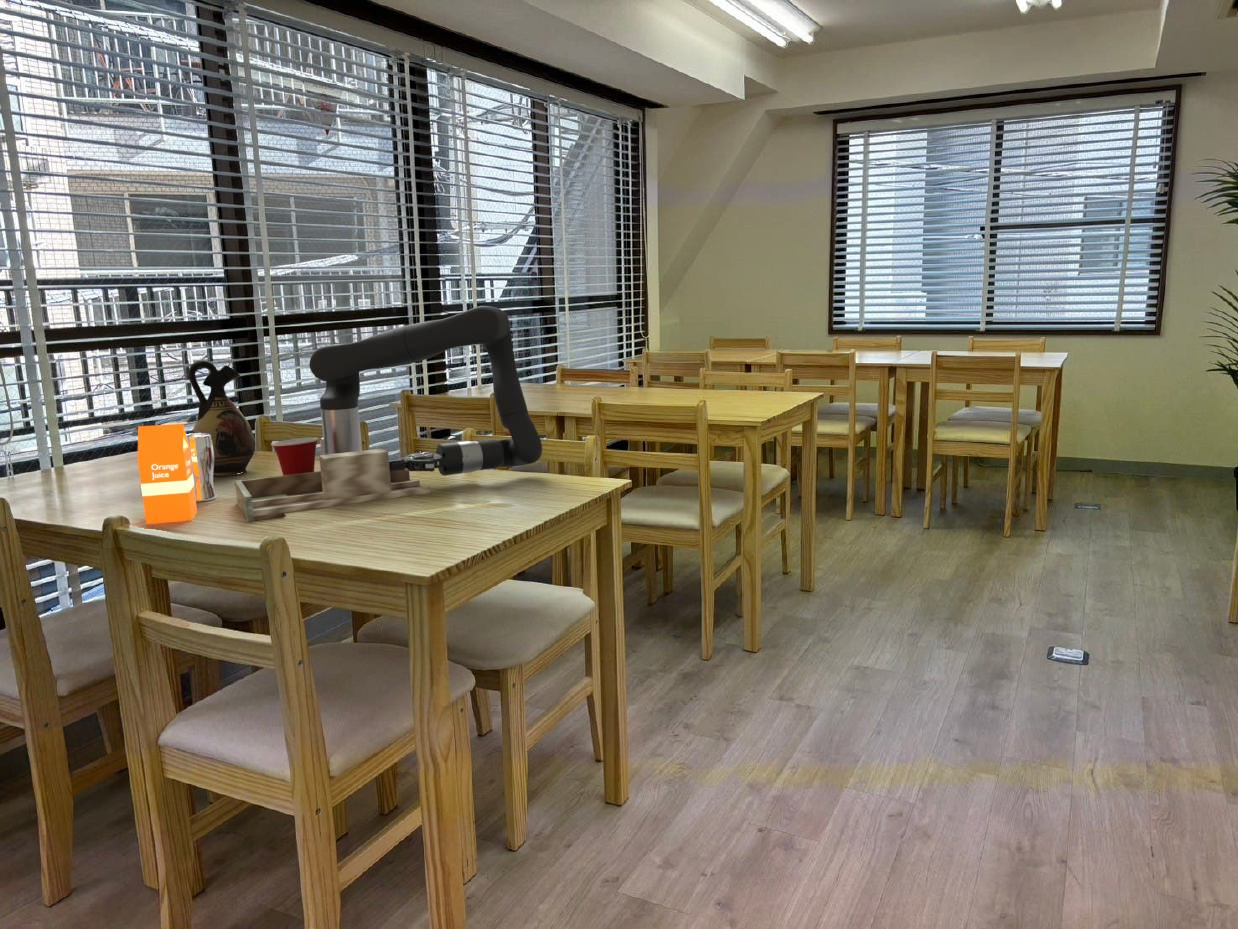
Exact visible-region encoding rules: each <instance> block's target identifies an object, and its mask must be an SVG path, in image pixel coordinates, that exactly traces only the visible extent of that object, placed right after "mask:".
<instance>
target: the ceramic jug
mask: <svg viewBox="0 0 1238 929" xmlns="http://www.w3.org/2000/svg"><path fill="white" fill-rule="evenodd" d="M203 369H207V370H209V371H210V373H209V374H208V375H207V376H206V377H205V379H204V380H203V382H202V385H203V386H206V387H210V390H209V391H210V392H209V395H208V397H207V398H206V396H205V395H204V393H203V391H202V389H201V387H200V385H199V383H198V381H197V376H196V373H197V372H198V371H200V370H203ZM187 374H188V379H189V383H190V385H191V387H192V389H193V391H194V393H195V396H196V398H197V399H198V401H199V405H198V414H197V419H196V421H195V424H194V426H193V429H192V431H191V434H194V433H210V434H211V439H212V444H213V449H214V472H213V476H217V477H226V476H225V475H228V476H234V475H233V474H237V473H241V472H245V471H246V470H247V467H248V465H249V463H250V462H251V460H252V458H253V456H254V455H255V451H256V439H255V435H254V432H253V430H252V427H251V425H250V423H249V422H248V420H247V418H246V417H245V416H244V414H243V413H242V412H241V410H240V409H239V408H238V407H237V406H236V405H235V403H234V402H233V401H232V400H231V399H230V398H229V396H228V395H227V392H226V390H225V386H226V385H227V384H229V383H230V382H233V381H234V380H236V379H238V378H240V377H241V375H240V374H239V372H237V371H236V370H234V369H233V368H231V366H229V365H226V364H225V365H223V367H222V368H220V369H219V370H218V369H217V367H216V365H214V364H213V363H212V362H210V361H208V360H197V361H194V362H193V363H192V364H191V365H190V366H189V369H188V372H187ZM245 473H246V472H245Z"/></svg>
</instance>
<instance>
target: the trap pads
mask: <svg viewBox="0 0 1238 929" xmlns="http://www.w3.org/2000/svg"><path fill="white" fill-rule="evenodd" d="M320 492H323V490H315V491H307V492H299V494H300V495H304V494H312V493H320Z"/></svg>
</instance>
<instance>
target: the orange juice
mask: <svg viewBox="0 0 1238 929" xmlns="http://www.w3.org/2000/svg"><path fill="white" fill-rule="evenodd" d="M137 427H138V429H137V430H138V434H137V455H136V456H137V464H138V471H139V472H138V473H139V479H140V487H141V488H140V489H141V494H142V499H143V509H144V516H145V522H146V523H145V524H146V525H154V524H163V523H164V524H166V523H177V522H187V520H188V521H192V520H193V519H194V518H195V516H196V515H197V513H198V508H197V502H196V498H195V490H194V479H193V473H192V465H191V457H190V448H189V444H188V440H187V437H186V434H187V433H186V429H185V426H184V423H175V424H174V423H173V424H160V425H159V424H158V425H143V426H142V425H141V426H137ZM195 514H196V515H195Z"/></svg>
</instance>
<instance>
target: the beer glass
mask: <svg viewBox="0 0 1238 929" xmlns="http://www.w3.org/2000/svg"><path fill="white" fill-rule="evenodd" d="M186 437H187V440H188V444H189V448H190V457H191V465H192V473H193V479H194V490H195V498H196V503H197V502H199V503H200V502H207V501H212V500H216V499H217V498H218V495H217V493H216V490H215V486H214V485H215V484H214V475H213V472H214V449H213V444H212V439H211V434H210V433H194V434H192V433H188V434H187V433H186ZM215 498H216V499H215Z"/></svg>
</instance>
